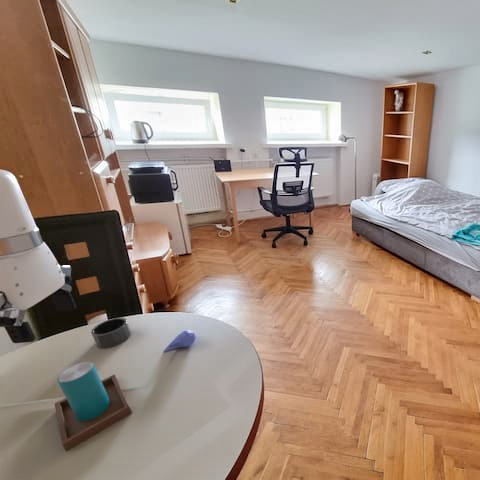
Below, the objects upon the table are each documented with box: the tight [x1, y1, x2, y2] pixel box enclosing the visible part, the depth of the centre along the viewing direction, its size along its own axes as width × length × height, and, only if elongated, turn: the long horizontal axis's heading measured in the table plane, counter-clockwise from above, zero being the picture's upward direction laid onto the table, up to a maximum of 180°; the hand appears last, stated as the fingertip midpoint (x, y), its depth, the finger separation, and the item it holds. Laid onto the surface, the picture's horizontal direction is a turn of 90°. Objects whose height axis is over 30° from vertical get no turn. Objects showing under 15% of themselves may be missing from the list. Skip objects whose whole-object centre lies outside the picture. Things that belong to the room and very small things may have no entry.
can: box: [56, 361, 110, 422], centre depth 61 cm, size 6×6×11 cm
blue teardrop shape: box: [162, 329, 197, 353], centre depth 82 cm, size 8×6×6 cm
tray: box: [54, 374, 133, 452], centre depth 63 cm, size 14×11×2 cm
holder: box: [90, 317, 132, 349], centre depth 84 cm, size 8×8×5 cm
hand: (47, 324), depth 56 cm, fingers open, 9 cm apart
